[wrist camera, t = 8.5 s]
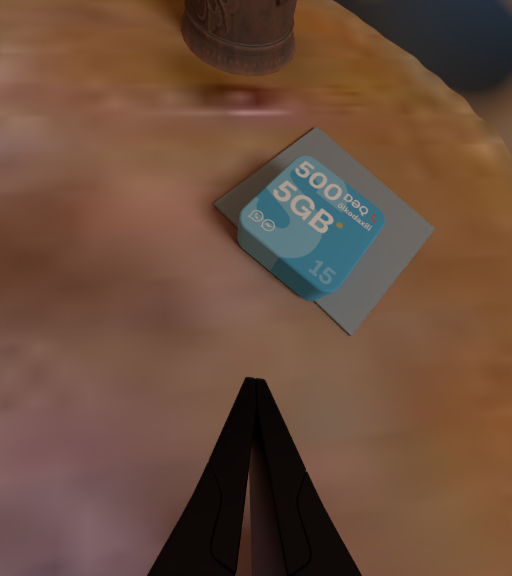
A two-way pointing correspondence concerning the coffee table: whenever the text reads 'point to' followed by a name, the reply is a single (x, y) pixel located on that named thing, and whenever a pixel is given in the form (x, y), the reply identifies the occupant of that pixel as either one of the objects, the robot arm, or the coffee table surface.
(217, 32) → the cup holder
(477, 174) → the coffee table surface
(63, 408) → the coffee table surface
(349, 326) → the slate rubber mat
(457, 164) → the coffee table surface
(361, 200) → the data package
